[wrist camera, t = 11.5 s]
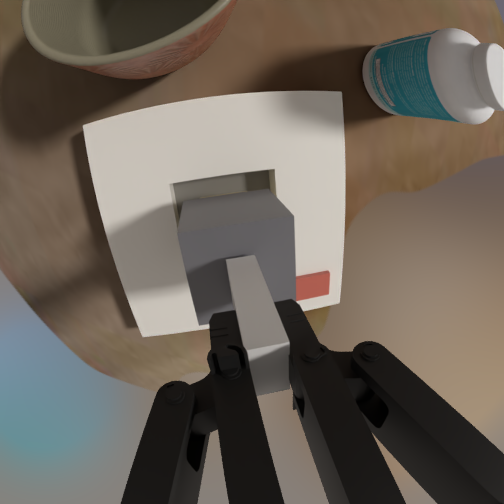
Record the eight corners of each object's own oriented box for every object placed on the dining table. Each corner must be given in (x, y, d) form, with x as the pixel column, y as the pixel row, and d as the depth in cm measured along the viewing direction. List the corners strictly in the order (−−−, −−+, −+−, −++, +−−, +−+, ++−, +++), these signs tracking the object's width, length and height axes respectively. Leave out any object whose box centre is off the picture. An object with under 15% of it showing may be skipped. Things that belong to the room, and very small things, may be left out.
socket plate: (93, 124, 19) (80, 125, 17) (328, 93, 21) (344, 91, 19) (145, 321, 28) (142, 340, 26) (330, 290, 30) (341, 305, 28)
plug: (186, 188, 23) (177, 233, 14) (257, 177, 24) (294, 215, 15) (197, 253, 26) (199, 325, 17) (263, 242, 26) (296, 308, 17)
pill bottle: (396, 130, 24) (507, 156, 12) (344, 77, 21) (458, 62, 9) (427, 82, 22) (532, 90, 10) (382, 31, 19) (488, 6, 7)
